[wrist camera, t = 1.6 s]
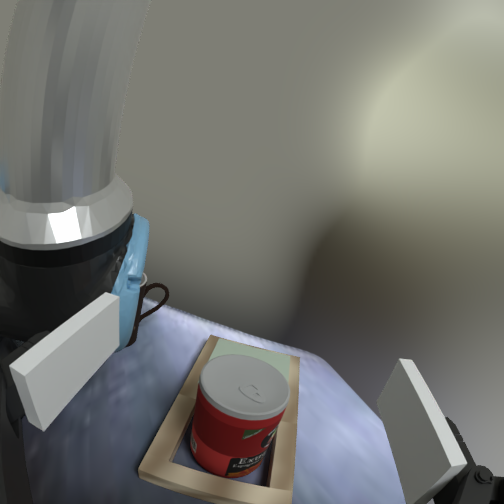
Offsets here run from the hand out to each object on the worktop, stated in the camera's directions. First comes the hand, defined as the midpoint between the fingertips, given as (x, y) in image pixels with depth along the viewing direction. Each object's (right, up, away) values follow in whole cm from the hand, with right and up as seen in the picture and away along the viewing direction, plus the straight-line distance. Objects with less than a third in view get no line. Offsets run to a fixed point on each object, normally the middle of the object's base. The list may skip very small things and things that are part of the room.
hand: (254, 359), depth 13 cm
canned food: (-3, -17, +14) cm, 22 cm away
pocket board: (-2, -15, +20) cm, 25 cm away
